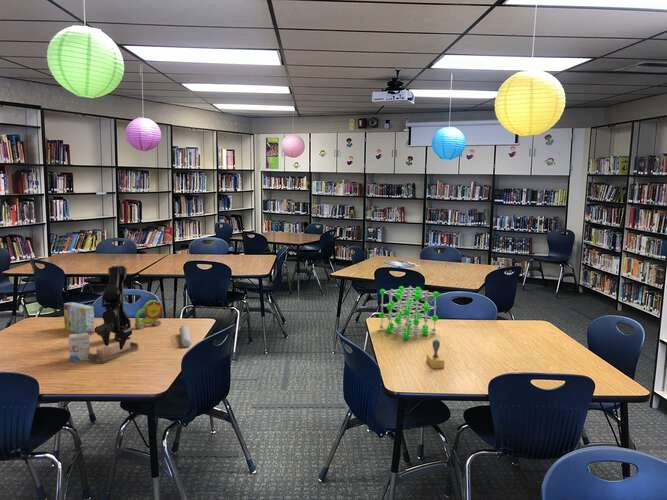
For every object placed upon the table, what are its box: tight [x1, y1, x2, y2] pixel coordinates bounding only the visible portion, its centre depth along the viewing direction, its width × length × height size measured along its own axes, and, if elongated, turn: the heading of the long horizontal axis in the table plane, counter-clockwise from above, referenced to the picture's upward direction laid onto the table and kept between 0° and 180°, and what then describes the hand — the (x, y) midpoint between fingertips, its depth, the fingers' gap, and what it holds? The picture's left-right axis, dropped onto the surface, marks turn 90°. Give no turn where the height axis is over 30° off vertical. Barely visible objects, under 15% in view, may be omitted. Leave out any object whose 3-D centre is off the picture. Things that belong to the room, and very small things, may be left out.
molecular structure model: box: [378, 285, 440, 341], centre depth 293 cm, size 24×25×24 cm
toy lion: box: [134, 299, 164, 330], centre depth 297 cm, size 16×5×15 cm, turn 133°
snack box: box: [63, 301, 95, 335], centre depth 286 cm, size 21×6×15 cm, turn 58°
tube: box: [179, 325, 192, 348], centre depth 273 cm, size 5×5×25 cm
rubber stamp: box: [426, 339, 445, 369], centre depth 241 cm, size 10×6×12 cm, turn 5°
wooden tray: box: [88, 341, 139, 365], centre depth 249 cm, size 9×22×3 cm, turn 156°
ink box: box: [68, 333, 91, 363], centre depth 242 cm, size 9×5×12 cm, turn 117°
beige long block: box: [96, 339, 131, 357], centre depth 249 cm, size 4×16×4 cm, turn 152°
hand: (114, 348), depth 249 cm, fingers open, 9 cm apart
